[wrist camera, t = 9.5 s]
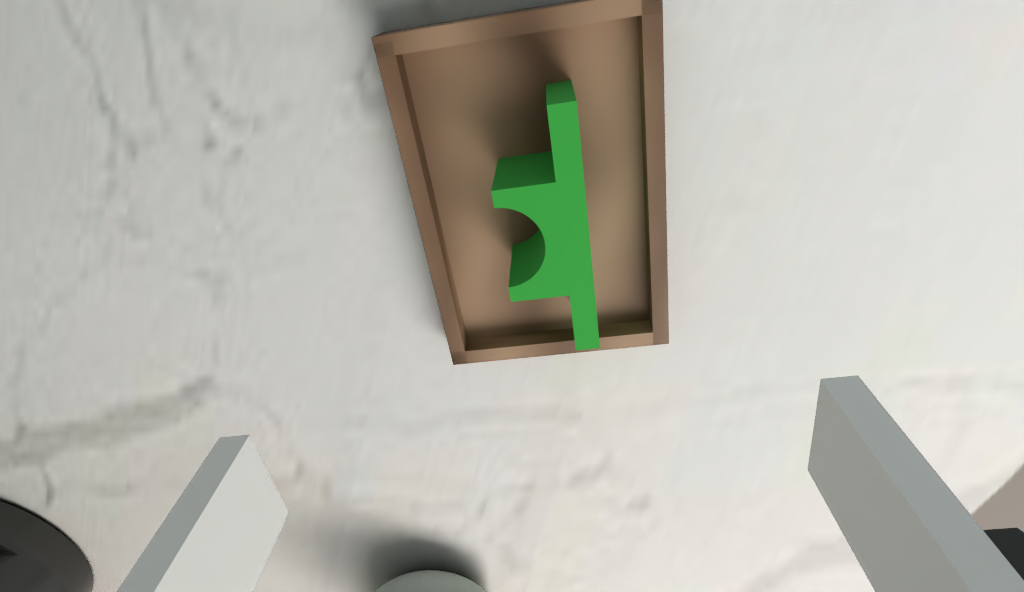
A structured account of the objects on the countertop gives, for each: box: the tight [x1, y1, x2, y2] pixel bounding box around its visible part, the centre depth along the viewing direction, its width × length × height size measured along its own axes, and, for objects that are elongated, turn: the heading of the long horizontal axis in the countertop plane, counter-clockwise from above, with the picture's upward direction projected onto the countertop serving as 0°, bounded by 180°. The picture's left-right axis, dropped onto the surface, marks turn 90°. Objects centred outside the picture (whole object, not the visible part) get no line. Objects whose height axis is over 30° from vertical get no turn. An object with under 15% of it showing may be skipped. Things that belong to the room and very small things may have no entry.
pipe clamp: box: [491, 80, 600, 350], centre depth 26 cm, size 11×4×5 cm, turn 9°
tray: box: [372, 0, 669, 365], centre depth 27 cm, size 12×17×2 cm
